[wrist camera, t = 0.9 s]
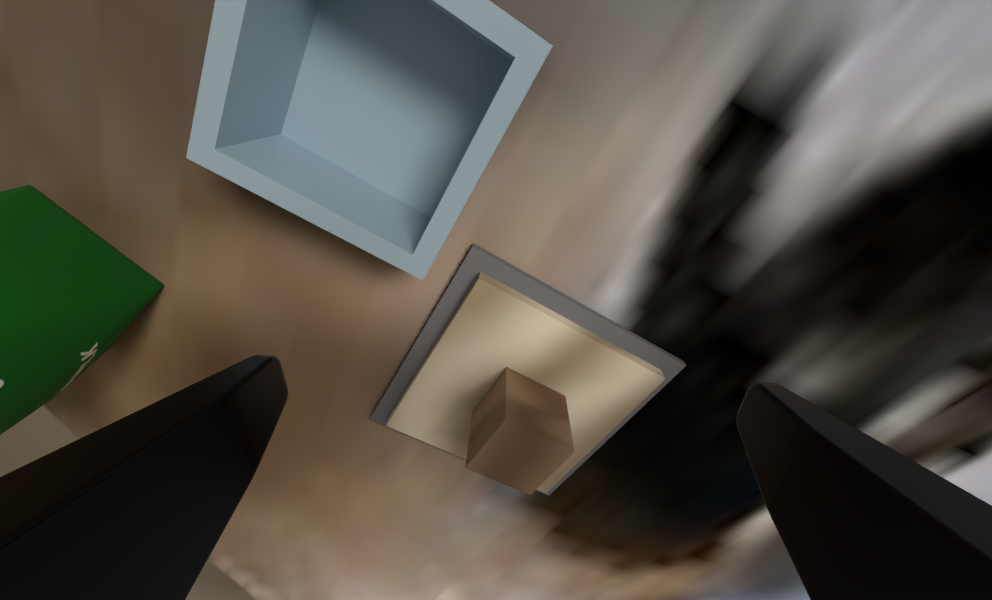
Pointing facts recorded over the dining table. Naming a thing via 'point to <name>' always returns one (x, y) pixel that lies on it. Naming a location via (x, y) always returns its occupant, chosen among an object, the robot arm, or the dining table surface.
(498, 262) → the mat
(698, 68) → the dining table surface
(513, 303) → the lid
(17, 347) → the milk carton
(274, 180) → the light blue storage bin
